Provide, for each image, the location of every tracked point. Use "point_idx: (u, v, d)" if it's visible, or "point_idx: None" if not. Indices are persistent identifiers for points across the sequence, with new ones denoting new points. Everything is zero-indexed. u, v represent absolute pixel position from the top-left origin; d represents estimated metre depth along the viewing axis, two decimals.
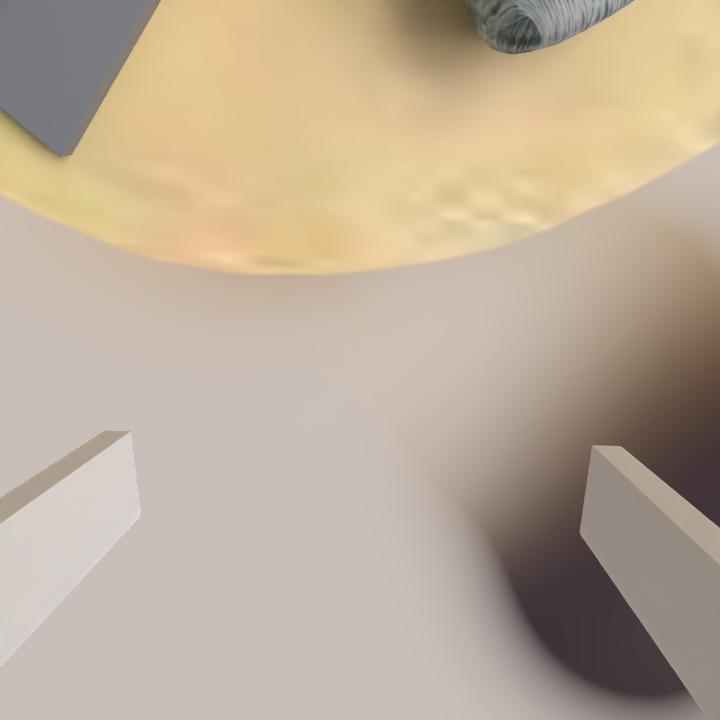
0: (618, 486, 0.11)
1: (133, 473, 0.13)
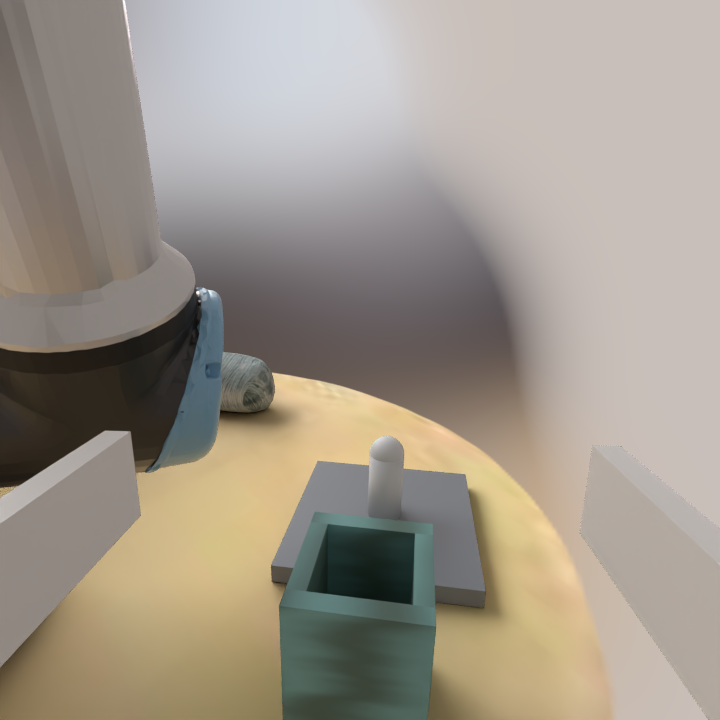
0: (618, 486, 0.11)
1: (133, 473, 0.13)
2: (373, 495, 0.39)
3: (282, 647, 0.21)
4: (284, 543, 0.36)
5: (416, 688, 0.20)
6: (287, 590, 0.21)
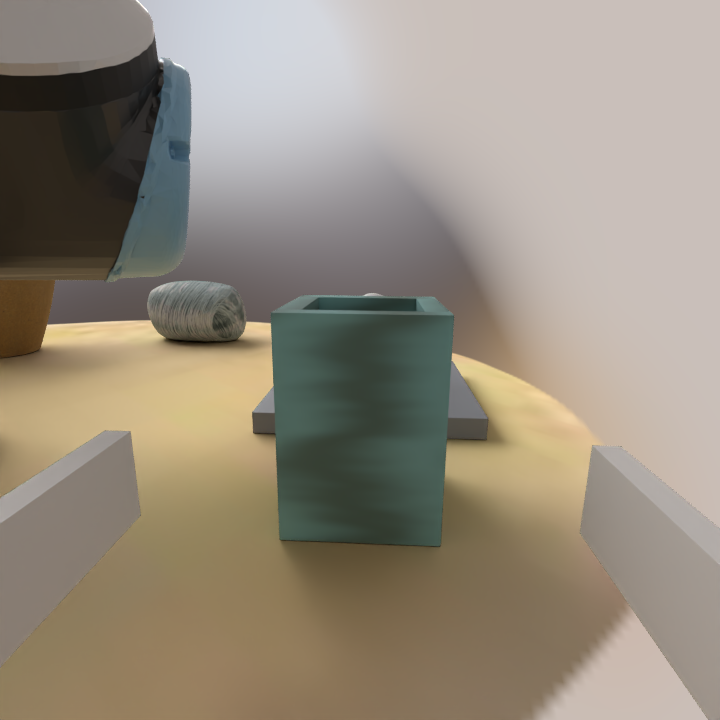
0: (618, 486, 0.11)
1: (133, 473, 0.13)
2: None
3: (275, 372, 0.18)
4: (265, 400, 0.33)
5: (432, 408, 0.18)
6: (278, 309, 0.18)
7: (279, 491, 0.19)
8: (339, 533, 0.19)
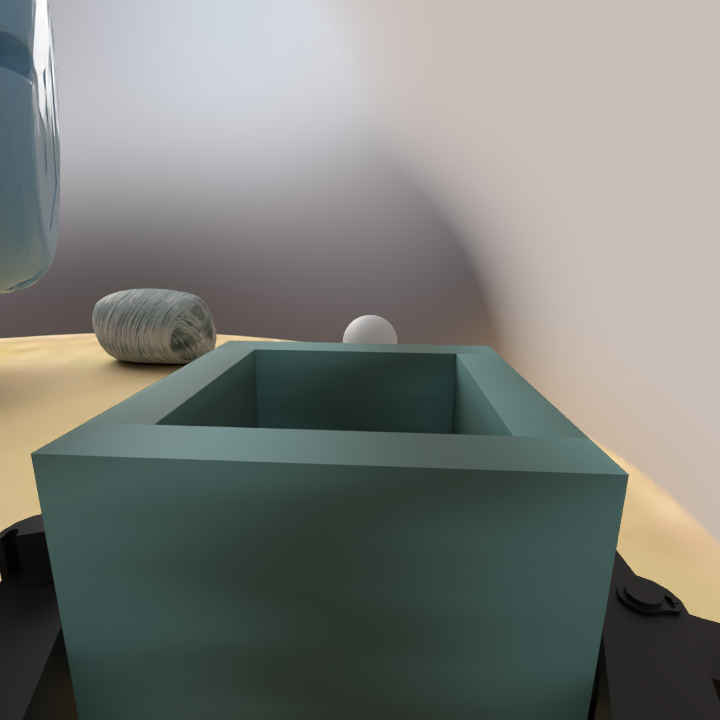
0: None
1: None
2: None
3: (67, 620, 0.06)
4: None
5: None
6: (88, 425, 0.06)
7: None
8: None
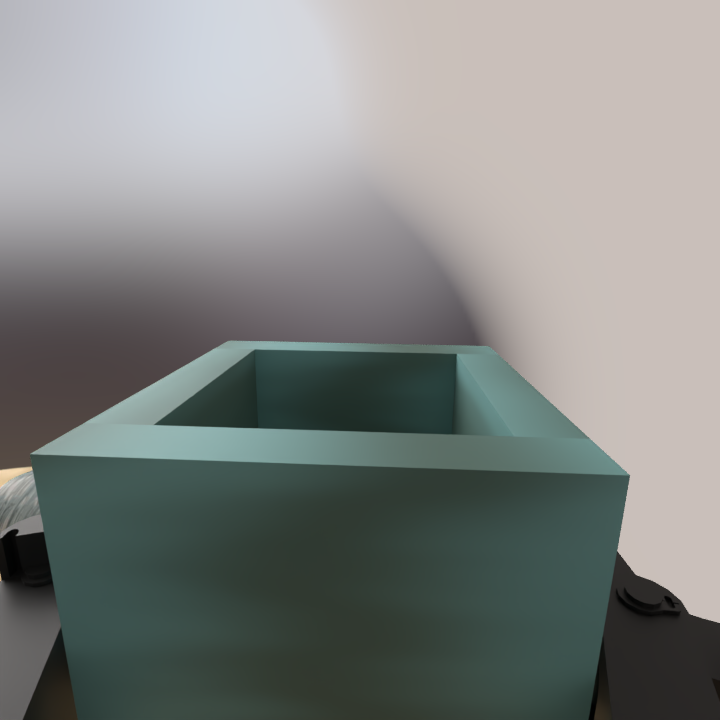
0: None
1: None
2: None
3: (66, 621, 0.06)
4: None
5: None
6: (87, 425, 0.06)
7: None
8: None
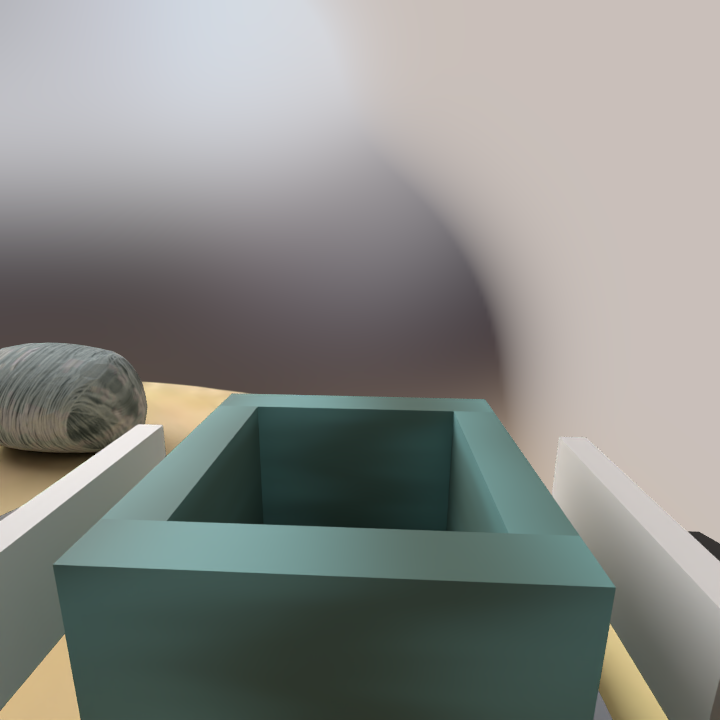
0: (579, 474, 0.11)
1: None
2: None
3: (85, 713, 0.06)
4: None
5: None
6: (103, 522, 0.07)
7: None
8: None
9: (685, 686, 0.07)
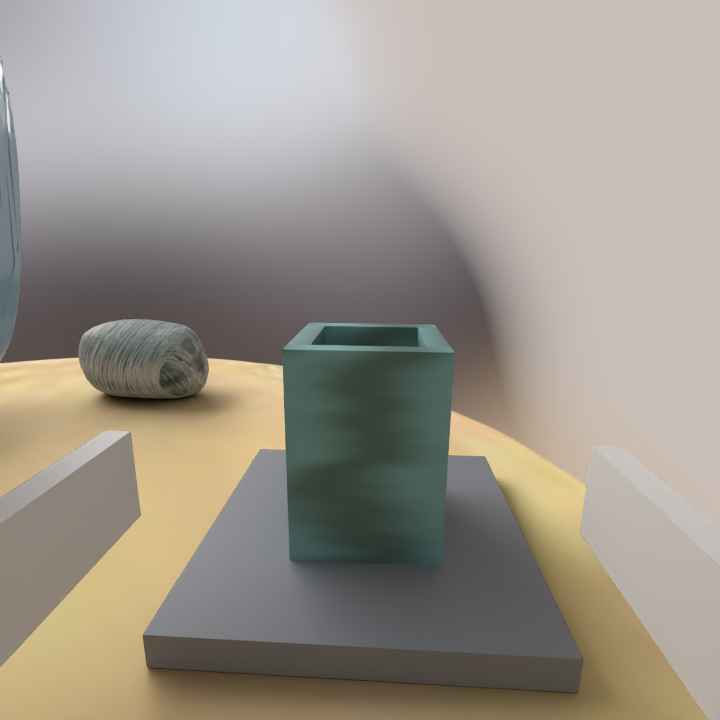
0: (618, 486, 0.11)
1: (133, 473, 0.13)
2: None
3: (286, 405, 0.19)
4: (180, 585, 0.19)
5: (434, 438, 0.19)
6: (289, 344, 0.19)
7: (289, 515, 0.20)
8: (346, 554, 0.20)
9: None
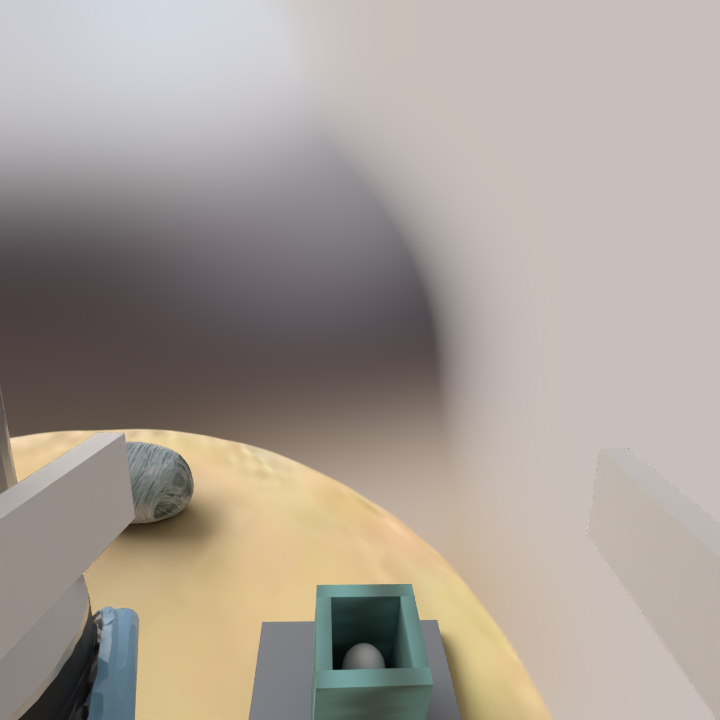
0: (626, 489, 0.11)
1: (127, 475, 0.13)
2: None
3: (315, 713, 0.27)
4: None
5: None
6: (317, 672, 0.27)
7: None
8: None
9: None
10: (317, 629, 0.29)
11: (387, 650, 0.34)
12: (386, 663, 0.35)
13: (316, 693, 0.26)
